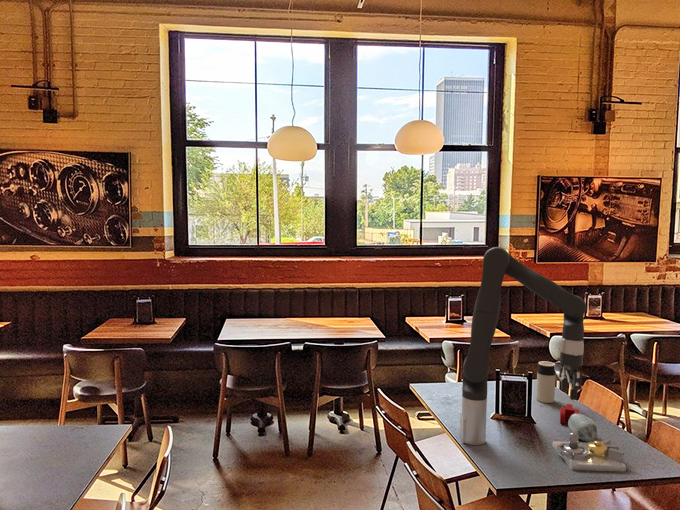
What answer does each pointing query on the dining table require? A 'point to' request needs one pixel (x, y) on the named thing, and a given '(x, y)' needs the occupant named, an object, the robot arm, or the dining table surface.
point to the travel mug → (545, 382)
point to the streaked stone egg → (583, 427)
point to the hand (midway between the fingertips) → (568, 395)
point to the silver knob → (573, 444)
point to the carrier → (593, 456)
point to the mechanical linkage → (567, 413)
